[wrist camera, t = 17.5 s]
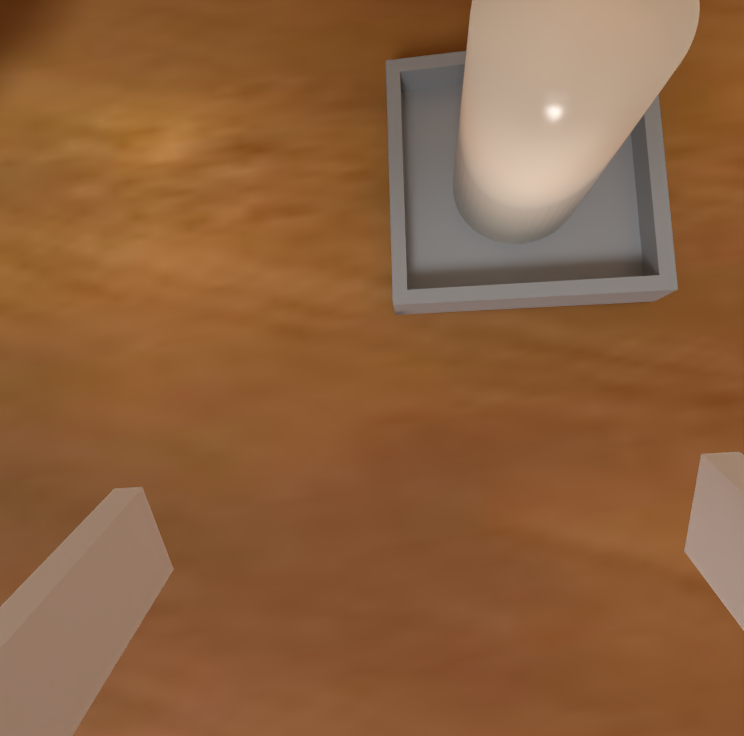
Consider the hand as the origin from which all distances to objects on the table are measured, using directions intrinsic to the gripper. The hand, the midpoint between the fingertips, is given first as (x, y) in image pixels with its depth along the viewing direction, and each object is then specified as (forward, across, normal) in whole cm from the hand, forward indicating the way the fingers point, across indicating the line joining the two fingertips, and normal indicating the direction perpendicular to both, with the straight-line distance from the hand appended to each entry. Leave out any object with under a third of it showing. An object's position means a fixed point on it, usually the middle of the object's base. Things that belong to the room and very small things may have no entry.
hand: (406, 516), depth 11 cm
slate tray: (+28, +8, +6) cm, 30 cm away
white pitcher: (+27, +8, +8) cm, 30 cm away
